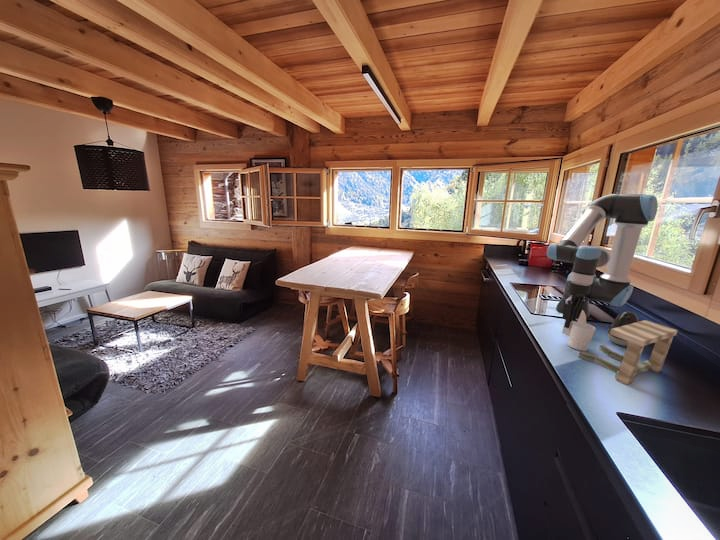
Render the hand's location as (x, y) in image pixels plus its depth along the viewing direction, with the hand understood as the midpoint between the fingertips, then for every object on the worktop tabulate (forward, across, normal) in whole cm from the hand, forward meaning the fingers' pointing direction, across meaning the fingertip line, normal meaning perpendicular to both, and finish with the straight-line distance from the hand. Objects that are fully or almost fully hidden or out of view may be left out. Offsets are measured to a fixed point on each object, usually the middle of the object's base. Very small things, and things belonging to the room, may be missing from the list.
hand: (566, 333), depth 125 cm
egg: (+4, -15, -5) cm, 17 cm away
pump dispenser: (+4, -24, +10) cm, 26 cm away
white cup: (+4, 0, +5) cm, 6 cm away
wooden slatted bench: (+4, -1, +19) cm, 19 cm away
